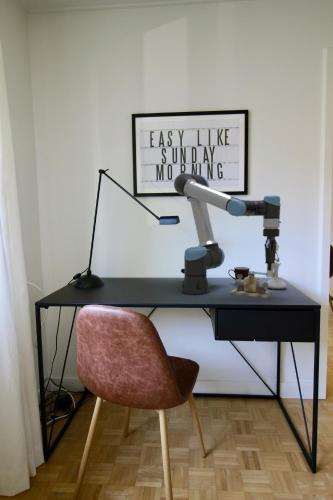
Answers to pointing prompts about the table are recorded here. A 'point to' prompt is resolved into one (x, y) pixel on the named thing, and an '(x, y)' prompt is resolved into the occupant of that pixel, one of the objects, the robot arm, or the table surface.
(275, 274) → the lever
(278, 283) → the flower in vase
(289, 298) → the table surface
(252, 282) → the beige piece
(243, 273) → the coffee mug
